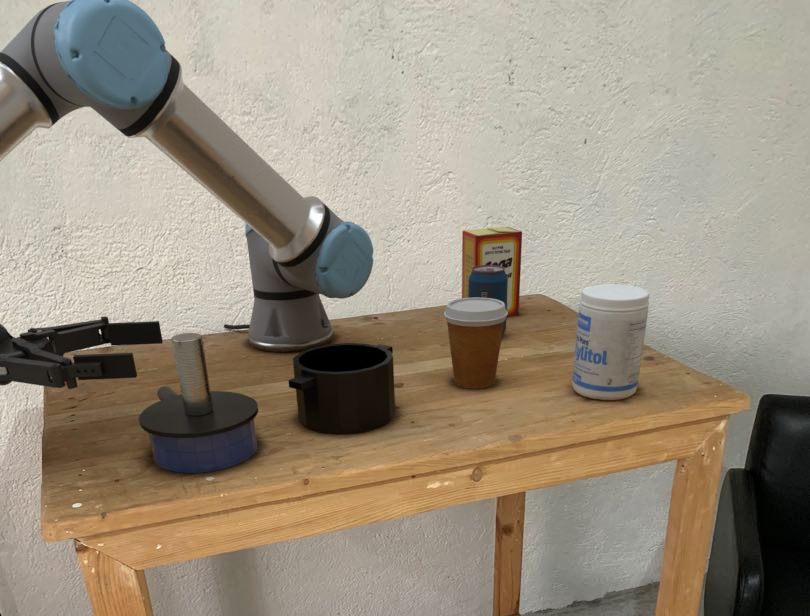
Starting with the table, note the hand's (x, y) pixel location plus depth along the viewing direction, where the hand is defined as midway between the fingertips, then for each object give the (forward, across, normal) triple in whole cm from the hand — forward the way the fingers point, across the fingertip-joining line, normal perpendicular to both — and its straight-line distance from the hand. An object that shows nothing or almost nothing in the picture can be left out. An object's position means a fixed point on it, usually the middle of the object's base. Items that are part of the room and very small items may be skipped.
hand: (148, 347), depth 97 cm
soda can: (+48, +47, +14) cm, 69 cm away
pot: (+23, +10, +14) cm, 29 cm away
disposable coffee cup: (+43, +22, +14) cm, 50 cm away
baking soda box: (+51, +63, +14) cm, 82 cm away
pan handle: (-1, +10, +11) cm, 15 cm away
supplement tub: (+62, +16, +14) cm, 65 cm away
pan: (+5, 0, +14) cm, 15 cm away
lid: (+5, 0, +9) cm, 10 cm away
